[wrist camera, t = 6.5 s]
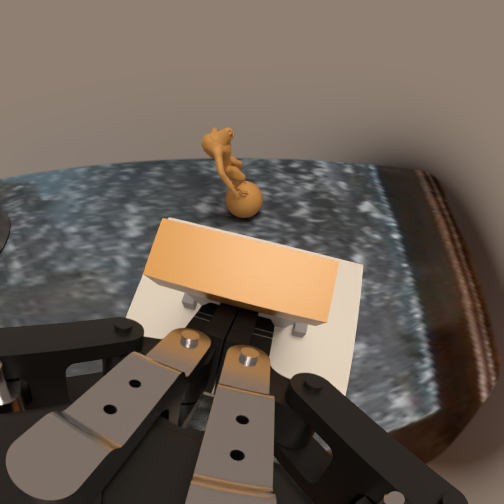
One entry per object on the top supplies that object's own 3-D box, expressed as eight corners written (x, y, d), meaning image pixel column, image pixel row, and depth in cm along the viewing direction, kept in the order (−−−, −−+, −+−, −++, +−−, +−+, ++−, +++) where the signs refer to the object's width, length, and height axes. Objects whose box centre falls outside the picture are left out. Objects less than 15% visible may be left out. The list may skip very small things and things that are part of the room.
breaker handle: (285, 334, 21) (327, 322, 9) (199, 312, 21) (143, 274, 10) (292, 306, 21) (339, 261, 10) (207, 285, 22) (162, 218, 10)
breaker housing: (311, 419, 25) (346, 420, 17) (141, 373, 26) (104, 355, 18) (334, 300, 31) (368, 258, 23) (181, 262, 32) (166, 208, 24)
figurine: (267, 239, 34) (283, 158, 23) (211, 246, 33) (204, 165, 23) (254, 181, 38) (262, 99, 27) (204, 186, 37) (198, 104, 26)
